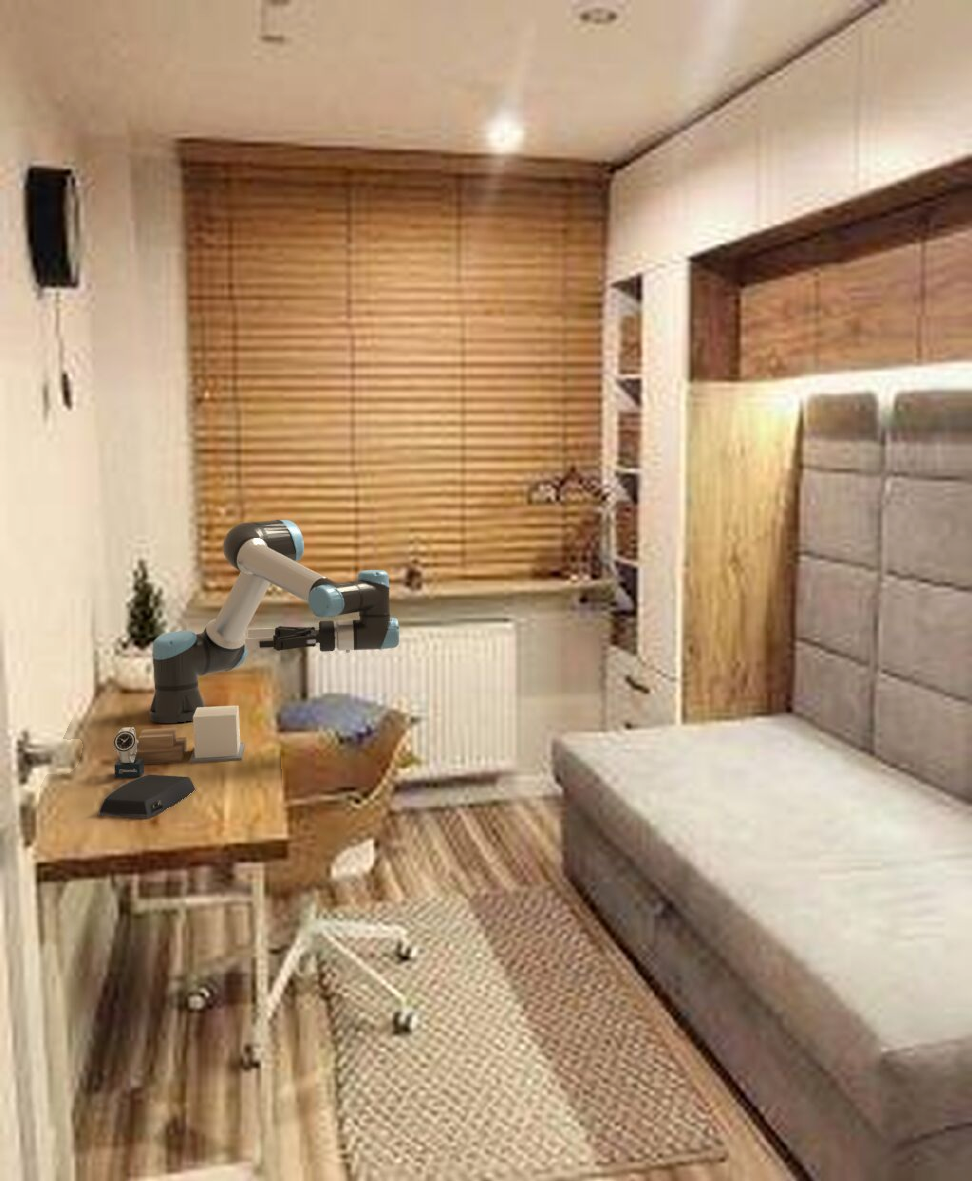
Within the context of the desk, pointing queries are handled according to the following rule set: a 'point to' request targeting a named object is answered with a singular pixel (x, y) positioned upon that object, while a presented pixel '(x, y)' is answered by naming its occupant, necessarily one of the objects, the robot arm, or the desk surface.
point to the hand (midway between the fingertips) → (246, 639)
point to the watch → (127, 754)
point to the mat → (215, 759)
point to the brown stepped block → (160, 746)
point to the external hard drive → (146, 796)
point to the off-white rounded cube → (216, 731)
